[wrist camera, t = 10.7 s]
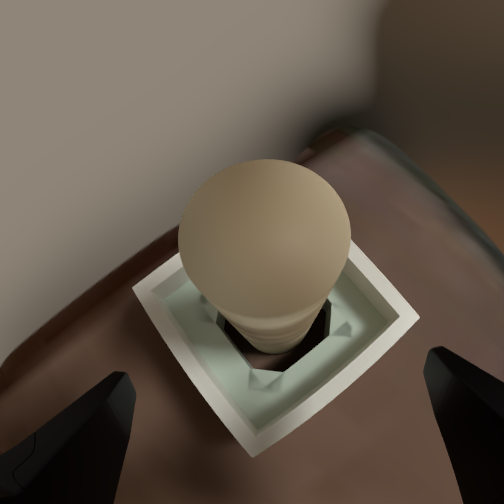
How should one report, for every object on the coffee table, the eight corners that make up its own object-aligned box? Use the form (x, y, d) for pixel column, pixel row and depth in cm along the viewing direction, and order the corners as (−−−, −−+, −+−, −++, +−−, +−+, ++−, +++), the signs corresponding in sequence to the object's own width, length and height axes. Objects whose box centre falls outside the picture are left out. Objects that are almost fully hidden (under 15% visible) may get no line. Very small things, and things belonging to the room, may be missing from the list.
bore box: (259, 439, 17) (252, 457, 12) (161, 306, 20) (131, 287, 16) (391, 330, 18) (419, 317, 14) (286, 213, 22) (287, 175, 18)
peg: (259, 365, 18) (216, 346, 6) (232, 307, 20) (158, 198, 8) (319, 336, 19) (382, 265, 7) (290, 280, 20) (298, 139, 8)
